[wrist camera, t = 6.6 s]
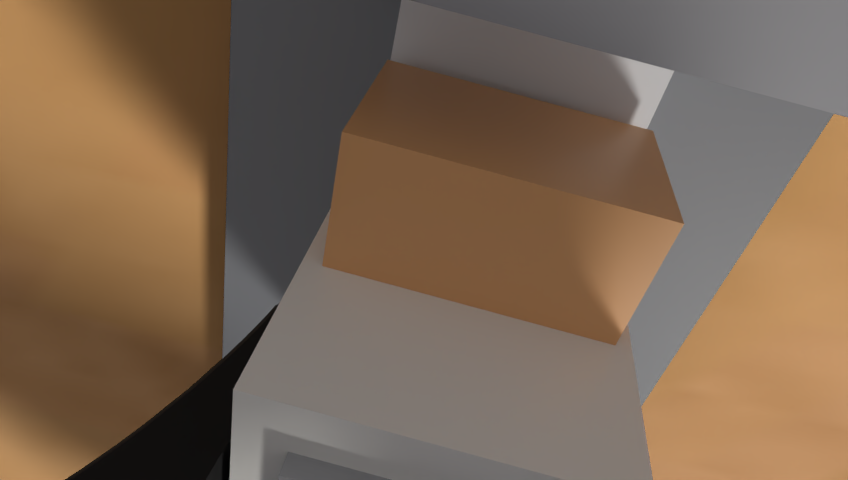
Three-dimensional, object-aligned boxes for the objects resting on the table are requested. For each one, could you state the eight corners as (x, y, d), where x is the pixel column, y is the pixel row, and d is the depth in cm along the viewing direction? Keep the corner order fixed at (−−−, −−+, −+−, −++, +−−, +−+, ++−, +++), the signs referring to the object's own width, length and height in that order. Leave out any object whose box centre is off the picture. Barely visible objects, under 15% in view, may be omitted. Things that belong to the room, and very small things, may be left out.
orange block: (601, 238, 10) (615, 345, 8) (366, 175, 10) (321, 265, 8) (653, 130, 9) (684, 224, 7) (387, 59, 9) (342, 131, 7)
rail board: (527, 549, 20) (522, 735, 16) (232, 468, 20) (153, 633, 16) (971, -167, 8) (1363, -146, 4) (268, -352, 9) (20, -499, 5)
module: (509, 444, 14) (494, 727, 10) (317, 392, 14) (215, 651, 10) (613, 233, 10) (660, 532, 6) (354, 163, 10) (221, 411, 6)
